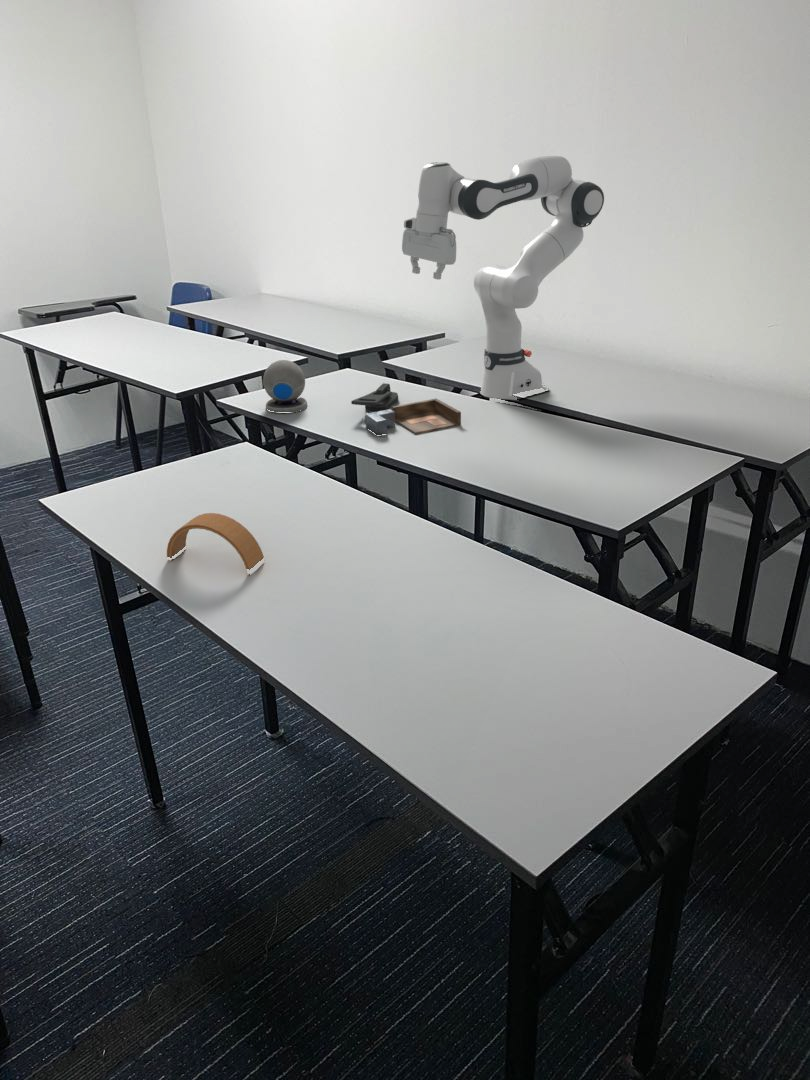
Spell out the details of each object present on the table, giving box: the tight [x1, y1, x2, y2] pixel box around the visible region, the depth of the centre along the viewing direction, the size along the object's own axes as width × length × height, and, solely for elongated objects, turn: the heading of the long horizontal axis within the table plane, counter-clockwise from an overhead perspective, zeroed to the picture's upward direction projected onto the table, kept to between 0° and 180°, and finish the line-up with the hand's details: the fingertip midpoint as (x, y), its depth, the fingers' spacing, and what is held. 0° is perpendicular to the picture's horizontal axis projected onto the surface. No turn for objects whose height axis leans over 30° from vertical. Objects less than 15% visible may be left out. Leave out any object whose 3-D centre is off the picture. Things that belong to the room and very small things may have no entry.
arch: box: [166, 512, 265, 570], centre depth 167 cm, size 6×20×10 cm, turn 68°
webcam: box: [262, 359, 308, 413], centre depth 255 cm, size 13×13×15 cm
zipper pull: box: [351, 382, 399, 413], centre depth 252 cm, size 9×7×25 cm
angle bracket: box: [364, 408, 396, 436], centre depth 236 cm, size 8×8×4 cm
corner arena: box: [391, 398, 462, 435], centre depth 241 cm, size 15×15×4 cm
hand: (426, 276), depth 236 cm, fingers open, 8 cm apart
